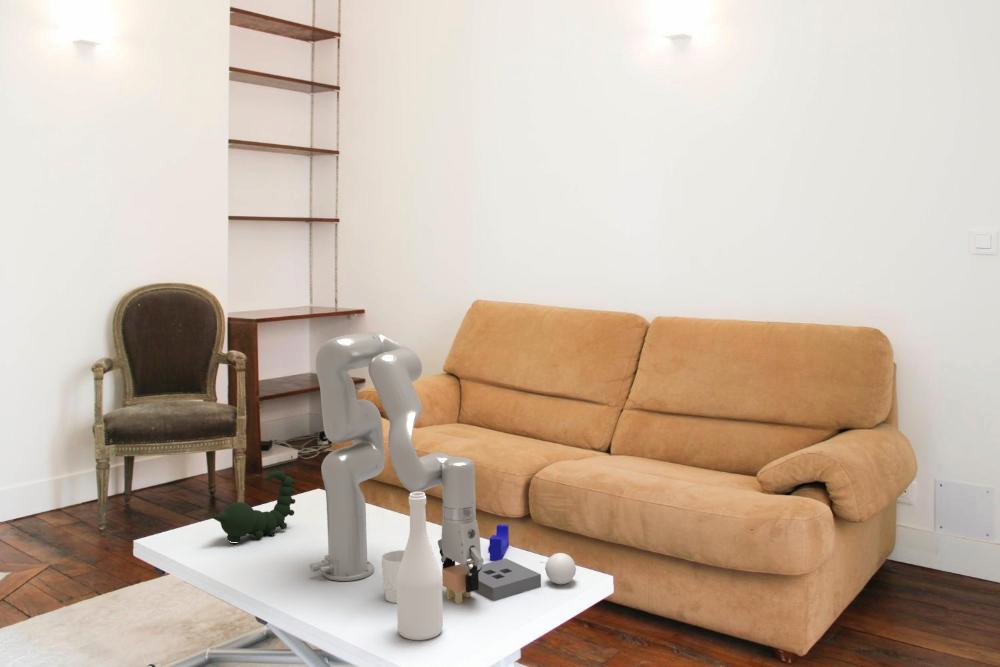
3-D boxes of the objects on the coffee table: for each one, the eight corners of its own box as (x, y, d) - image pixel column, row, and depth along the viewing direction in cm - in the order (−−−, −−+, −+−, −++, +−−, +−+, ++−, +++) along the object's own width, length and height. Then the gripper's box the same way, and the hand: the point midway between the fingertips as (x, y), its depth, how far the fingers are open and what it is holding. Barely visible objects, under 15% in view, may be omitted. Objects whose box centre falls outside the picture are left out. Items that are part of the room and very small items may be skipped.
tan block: (457, 605, 208) (456, 576, 207) (442, 597, 213) (442, 568, 212) (478, 598, 211) (478, 570, 211) (464, 591, 216) (463, 563, 216)
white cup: (402, 607, 207) (401, 564, 206) (375, 600, 212) (374, 558, 211) (423, 595, 214) (422, 553, 213) (397, 588, 218) (395, 548, 217)
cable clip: (492, 545, 248) (492, 524, 248) (508, 546, 248) (508, 524, 247) (484, 561, 237) (483, 538, 236) (501, 562, 236) (501, 539, 235)
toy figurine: (281, 530, 269) (202, 543, 251) (283, 466, 268) (205, 475, 250) (299, 537, 263) (220, 551, 244) (302, 471, 262) (223, 481, 244)
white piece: (582, 583, 220) (582, 554, 219) (559, 591, 215) (559, 561, 214) (554, 572, 228) (554, 543, 227) (531, 579, 223) (531, 550, 222)
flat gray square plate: (493, 600, 210) (493, 588, 210) (459, 582, 221) (459, 570, 221) (541, 586, 218) (540, 574, 218) (505, 569, 230) (505, 558, 229)
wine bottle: (445, 622, 199) (442, 487, 195) (440, 642, 189) (437, 500, 186) (401, 622, 199) (398, 487, 196) (394, 641, 190) (390, 500, 186)
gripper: (494, 517, 205) (495, 592, 207) (452, 500, 219) (453, 570, 221) (467, 524, 201) (468, 600, 203) (425, 506, 215) (426, 577, 217)
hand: (460, 584), depth 212 cm, fingers open, 9 cm apart
